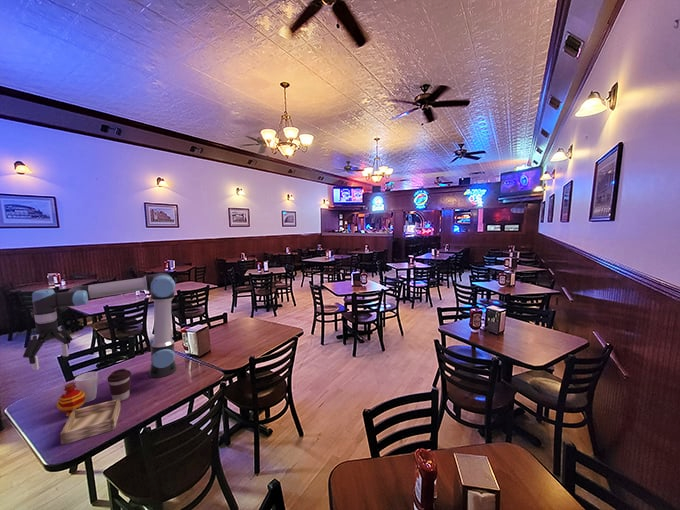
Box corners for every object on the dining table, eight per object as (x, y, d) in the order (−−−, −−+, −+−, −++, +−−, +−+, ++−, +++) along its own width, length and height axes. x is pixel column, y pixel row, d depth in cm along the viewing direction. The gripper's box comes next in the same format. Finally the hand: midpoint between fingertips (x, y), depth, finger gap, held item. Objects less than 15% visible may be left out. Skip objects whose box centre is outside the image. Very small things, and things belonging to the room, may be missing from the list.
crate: (120, 407, 145) (119, 398, 144) (114, 429, 129) (113, 419, 129) (73, 420, 136) (72, 409, 135) (61, 445, 120) (60, 433, 120)
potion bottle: (70, 406, 145) (67, 379, 144) (92, 405, 146) (89, 378, 145) (51, 420, 135) (48, 391, 133) (74, 419, 136) (71, 390, 134)
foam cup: (86, 405, 146) (83, 382, 145) (72, 403, 148) (69, 380, 147) (104, 394, 156) (102, 372, 154) (91, 392, 157) (89, 370, 156)
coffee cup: (136, 394, 156) (134, 369, 154) (117, 405, 146) (115, 378, 145) (124, 391, 159) (122, 366, 157) (105, 401, 150) (102, 374, 148)
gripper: (66, 312, 150) (70, 350, 153) (7, 330, 126) (13, 375, 128) (78, 313, 150) (82, 351, 152) (23, 330, 125) (28, 375, 127)
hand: (51, 362), depth 140 cm, fingers open, 13 cm apart
